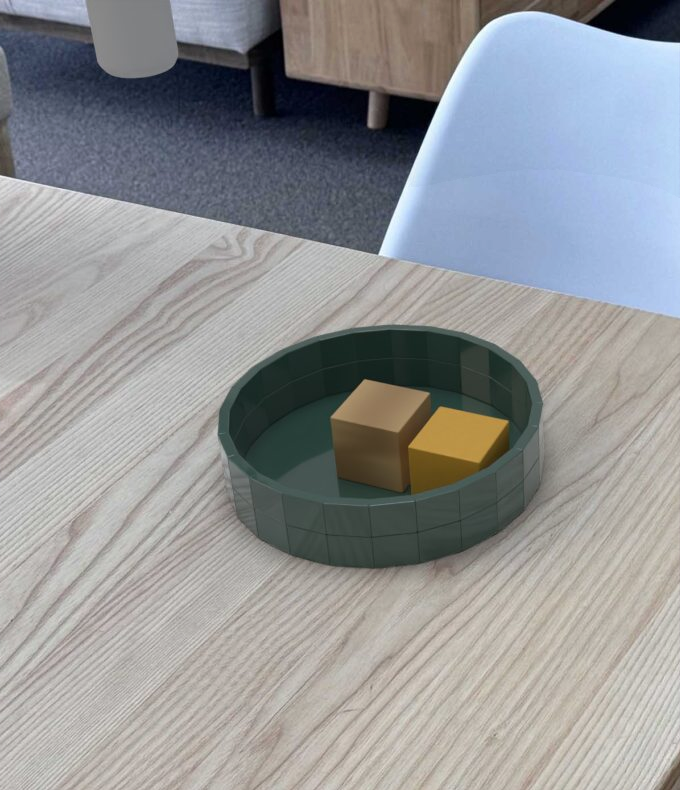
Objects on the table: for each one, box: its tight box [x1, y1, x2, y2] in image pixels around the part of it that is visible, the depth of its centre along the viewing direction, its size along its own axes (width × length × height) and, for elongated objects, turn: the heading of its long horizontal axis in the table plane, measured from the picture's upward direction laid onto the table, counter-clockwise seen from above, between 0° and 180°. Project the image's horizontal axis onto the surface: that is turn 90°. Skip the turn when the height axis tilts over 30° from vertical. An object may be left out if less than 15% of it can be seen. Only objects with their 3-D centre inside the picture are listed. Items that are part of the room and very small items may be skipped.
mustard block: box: [408, 407, 510, 495], centre depth 73 cm, size 4×4×4 cm
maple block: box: [331, 379, 432, 493], centre depth 76 cm, size 4×4×4 cm
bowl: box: [216, 323, 545, 569], centre depth 76 cm, size 17×17×4 cm
